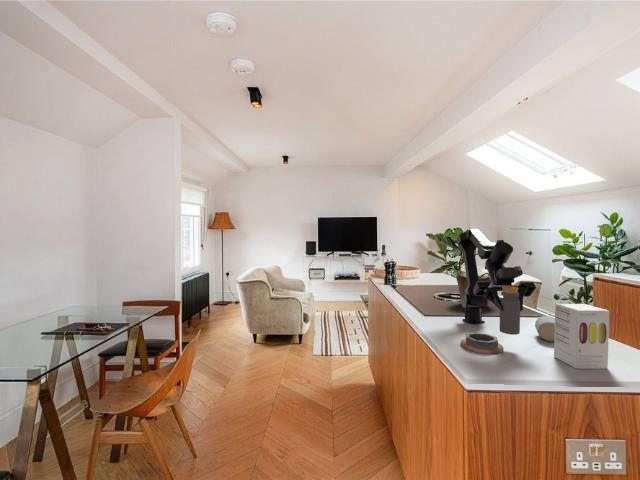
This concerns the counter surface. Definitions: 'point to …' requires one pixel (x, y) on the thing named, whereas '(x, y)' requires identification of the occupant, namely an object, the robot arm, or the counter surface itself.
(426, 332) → the counter surface
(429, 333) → the counter surface
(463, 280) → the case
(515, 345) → the counter surface
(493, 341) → the ring coaster
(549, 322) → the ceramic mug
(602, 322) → the supplement box
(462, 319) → the robot arm
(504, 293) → the bottle
